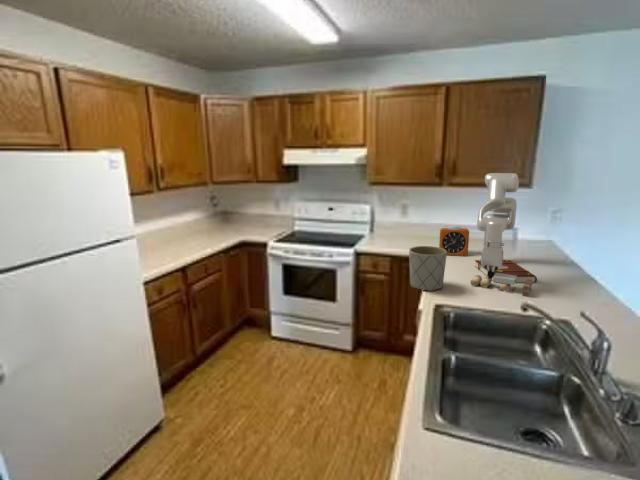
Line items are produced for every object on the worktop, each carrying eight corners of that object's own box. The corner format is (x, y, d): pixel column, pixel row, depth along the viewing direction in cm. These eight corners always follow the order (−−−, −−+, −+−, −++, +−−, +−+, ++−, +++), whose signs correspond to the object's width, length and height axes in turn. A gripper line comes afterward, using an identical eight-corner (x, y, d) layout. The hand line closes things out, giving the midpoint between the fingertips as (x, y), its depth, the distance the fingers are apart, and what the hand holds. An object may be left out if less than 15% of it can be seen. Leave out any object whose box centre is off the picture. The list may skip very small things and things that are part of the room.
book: (494, 283, 207) (494, 275, 206) (473, 266, 238) (474, 259, 236) (536, 283, 206) (537, 274, 205) (510, 266, 236) (511, 258, 235)
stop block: (526, 288, 197) (526, 279, 196) (531, 289, 196) (532, 280, 195) (522, 295, 188) (523, 286, 186) (527, 296, 186) (528, 287, 185)
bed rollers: (474, 281, 210) (474, 274, 209) (515, 287, 198) (516, 280, 198) (470, 285, 203) (470, 278, 202) (512, 293, 191) (513, 285, 190)
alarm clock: (439, 255, 262) (440, 226, 258) (438, 252, 271) (440, 224, 266) (467, 256, 258) (469, 227, 253) (466, 253, 266) (468, 224, 262)
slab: (495, 277, 203) (496, 272, 202) (516, 280, 197) (517, 275, 196) (492, 281, 196) (493, 276, 196) (514, 284, 191) (514, 280, 190)
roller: (504, 288, 201) (501, 281, 201) (512, 285, 199) (509, 278, 199) (501, 292, 195) (498, 285, 195) (509, 290, 192) (506, 283, 193)
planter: (417, 278, 217) (418, 244, 213) (450, 284, 206) (452, 249, 201) (401, 287, 203) (402, 251, 199) (436, 295, 191) (438, 257, 187)
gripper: (510, 244, 195) (507, 278, 199) (479, 241, 204) (477, 273, 208) (507, 247, 189) (504, 282, 193) (476, 244, 198) (473, 277, 202)
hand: (490, 277), depth 200 cm, fingers closed
